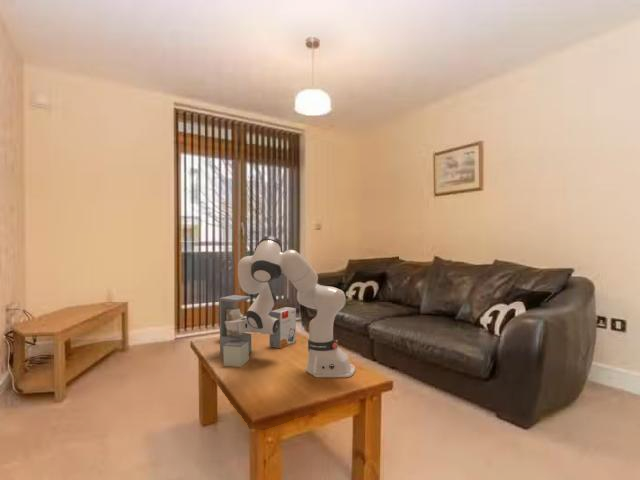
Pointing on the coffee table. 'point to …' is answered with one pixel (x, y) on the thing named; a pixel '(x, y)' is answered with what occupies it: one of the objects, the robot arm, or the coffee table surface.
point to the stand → (236, 353)
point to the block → (231, 315)
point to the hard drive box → (284, 327)
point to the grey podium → (223, 305)
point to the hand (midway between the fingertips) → (232, 320)
